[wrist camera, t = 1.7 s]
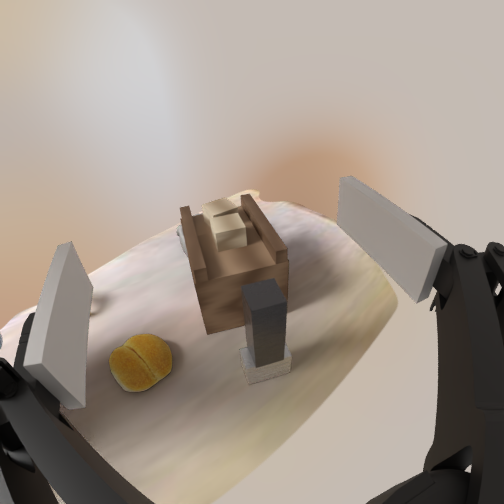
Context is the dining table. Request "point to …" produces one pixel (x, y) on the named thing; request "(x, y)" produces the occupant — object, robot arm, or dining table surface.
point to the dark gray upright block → (264, 331)
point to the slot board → (232, 264)
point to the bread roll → (141, 362)
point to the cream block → (218, 209)
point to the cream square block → (228, 232)
